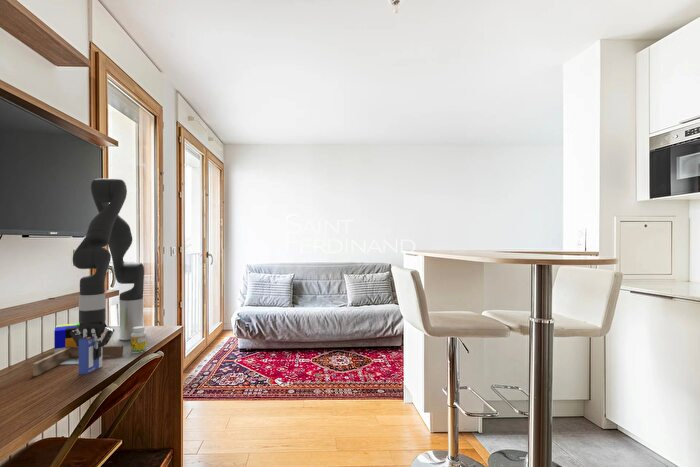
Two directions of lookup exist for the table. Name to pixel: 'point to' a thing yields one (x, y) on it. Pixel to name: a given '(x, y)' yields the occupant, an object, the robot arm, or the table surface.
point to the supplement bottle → (138, 340)
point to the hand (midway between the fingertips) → (92, 359)
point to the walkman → (88, 356)
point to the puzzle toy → (64, 336)
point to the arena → (71, 352)
